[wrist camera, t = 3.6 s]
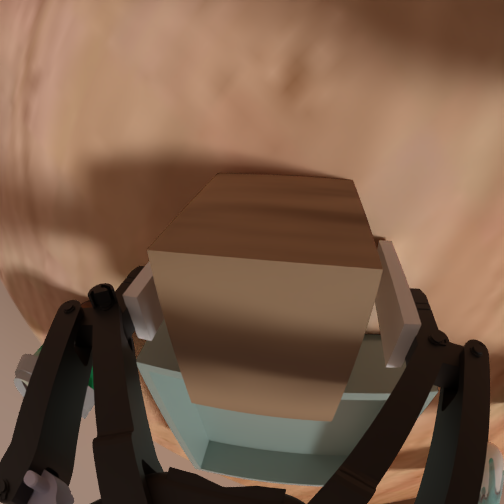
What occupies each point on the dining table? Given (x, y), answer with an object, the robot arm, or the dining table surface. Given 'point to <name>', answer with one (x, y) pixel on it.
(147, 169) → the dining table surface
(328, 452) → the tote
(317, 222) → the walnut block
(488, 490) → the vase
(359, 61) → the dining table surface
